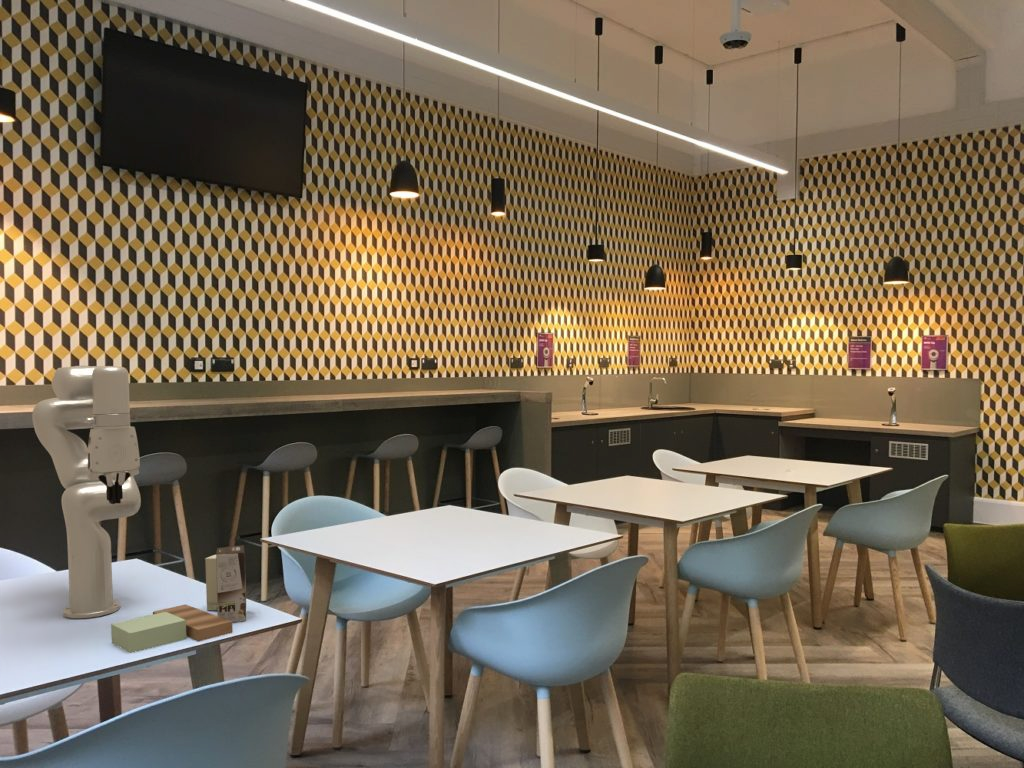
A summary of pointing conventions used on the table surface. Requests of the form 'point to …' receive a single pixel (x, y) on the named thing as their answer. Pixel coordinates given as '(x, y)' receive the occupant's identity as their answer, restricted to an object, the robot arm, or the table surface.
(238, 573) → the coffee box
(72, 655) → the table surface
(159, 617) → the slab
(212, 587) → the box
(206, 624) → the board
